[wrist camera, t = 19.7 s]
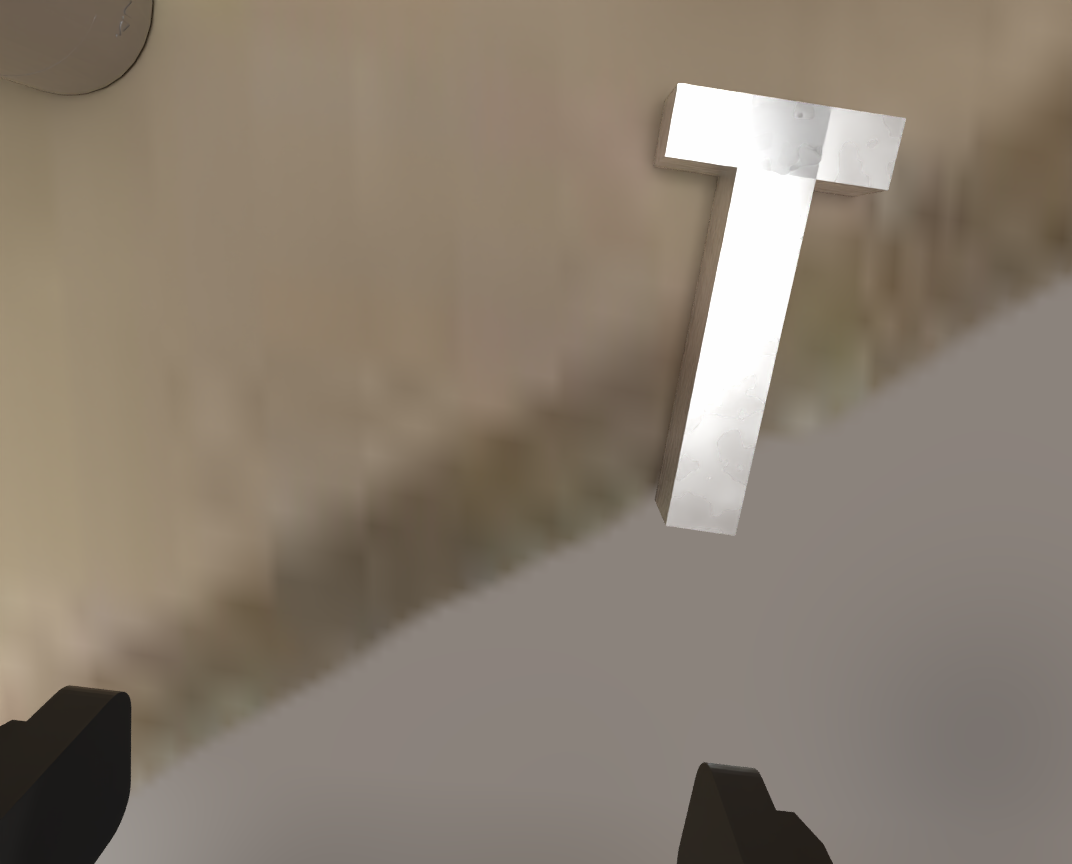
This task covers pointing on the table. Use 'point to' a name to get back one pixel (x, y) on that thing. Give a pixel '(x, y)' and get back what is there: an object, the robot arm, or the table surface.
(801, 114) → the toggle bar
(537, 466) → the table surface
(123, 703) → the robot arm
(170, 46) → the table surface
